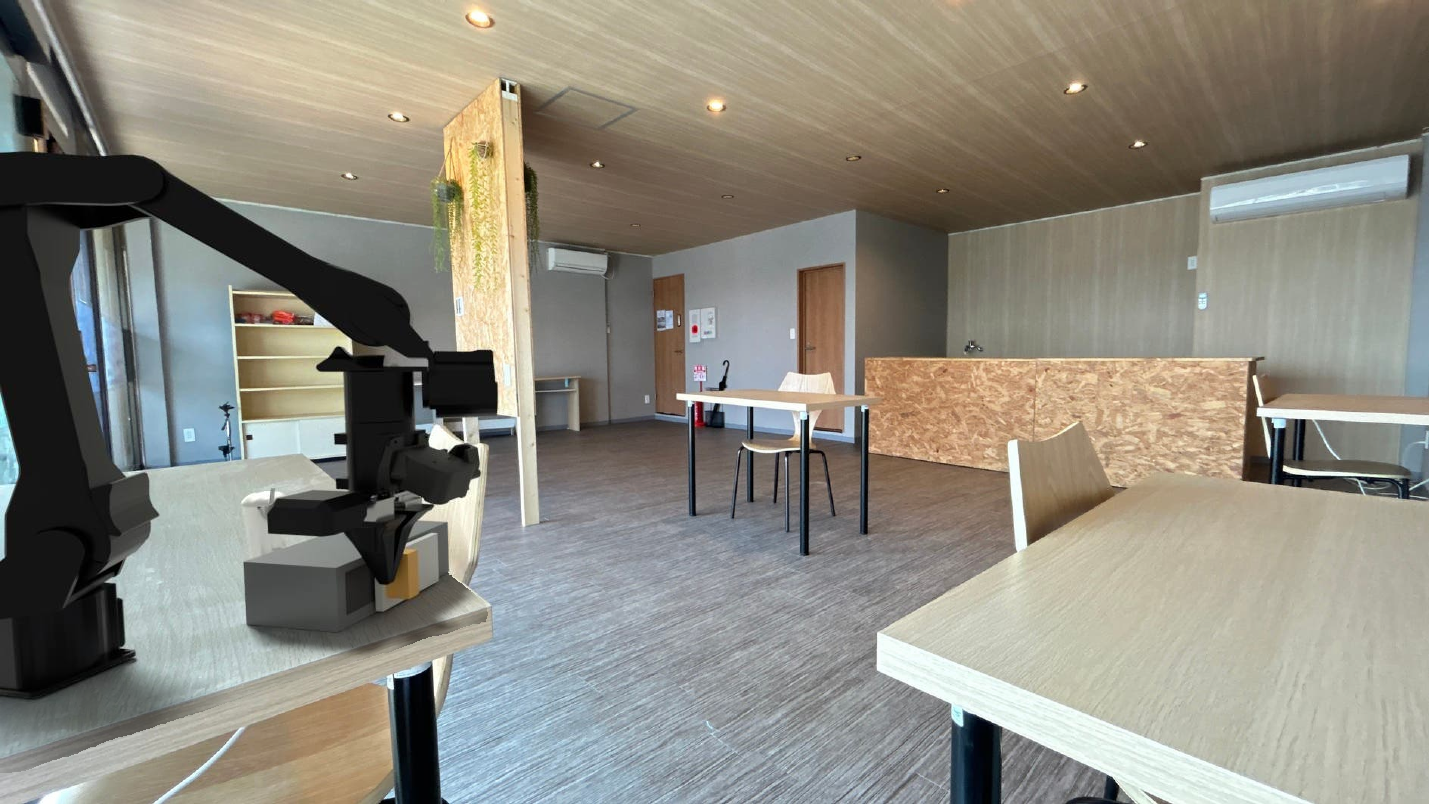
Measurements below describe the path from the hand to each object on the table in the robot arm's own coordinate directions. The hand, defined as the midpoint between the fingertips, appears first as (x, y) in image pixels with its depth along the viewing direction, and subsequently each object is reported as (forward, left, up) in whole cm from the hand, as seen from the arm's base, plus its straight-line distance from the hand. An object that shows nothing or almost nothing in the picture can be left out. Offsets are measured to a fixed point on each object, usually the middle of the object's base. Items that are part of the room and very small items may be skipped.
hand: (386, 583), depth 54 cm
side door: (+5, +1, -3) cm, 6 cm away
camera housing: (+5, +8, -4) cm, 10 cm away
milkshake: (+11, +26, -4) cm, 28 cm away
